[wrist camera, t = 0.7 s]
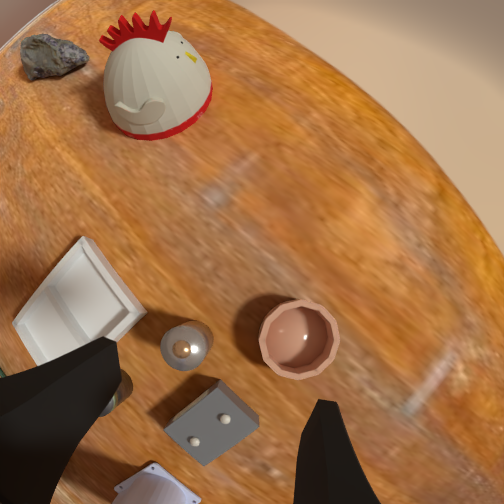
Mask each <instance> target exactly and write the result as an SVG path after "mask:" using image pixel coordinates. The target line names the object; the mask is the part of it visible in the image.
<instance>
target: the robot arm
mask: <svg viewBox="0 0 504 504" xmlns="http://www.w3.org/2000/svg"><path fill="white" fill-rule="evenodd" d="M121 381H122V376H121V371H120V364H119V358H118V351H117V344H116V341H113V340H111V339H109V338H106V337H104V336H102V337H100V338H98V339H96V340H93V341H91V342H89V343H87V344H85V345H83V346H81V347H79V348H77V349H75V350H73V351H71V352H69V353H66V354H64V355H62V356H60V357H58V358H56V359H54V360H51V361H49V362H46V363H44V364H41V365H39V366H37V367H34V368H32V369H29V370H26V371H23V372H20V373H17V374H13V375H10V376H6V377H2V378H0V504H50V502H51V499H52V496H53V493H54V491H55V489H56V486H57V484H58V481H59V479H60V477H61V475H62V473H63V471H64V469H65V467H66V465H67V463H68V461H69V459H70V457H71V456H72V454H73V452H74V450H75V448H76V447H77V445H78V444H79V442H80V441H81V439H82V438H83V437H84V435H85V434H86V433H87V431H88V430H89V429H90V427H91V426H92V425H93V424H94V422H95V421H96V420H97V418H98V417H99V416H100V414H101V413H102V412H103V410H104V409H105V408H106V406H107V405H108V404H109V402H110V401H111V399H112V397H113V396H114V394H115V392H116V390H117V389H118V387H119V385H120V383H121ZM152 467H154V468H152ZM121 486H122V487H121ZM114 490H115V491H116V492H117V493H118V495H117V497H116V498H115V499H114V501H113V502H112V504H198V503H200V502H201V498H200V497H199V496H197V495H196V494H195V493H193V492H192V491H191V490H189V489H188V488H187V487H186V486H184V485H183V484H182V483H181V482H179V481H178V480H177V479H176V478H174V477H173V476H172V475H171V474H170V473H168V472H167V471H166V470H165V469H164V468H163V467H161V466H160V465H159V464H158V463H156V462H154V463H152V464H150V465H149V466H147V467H146V468H144V469H142V470H141V471H139V472H138V473H136V474H135V475H133V476H131V477H130V478H128V479H126V480H125V481H123V482H121V483H120V484H118V485H116V486H115V487H114ZM195 501H196V502H195ZM293 504H381V503H380V502H379V500H378V498H377V497H376V495H375V493H374V491H373V489H372V488H371V486H370V484H369V482H368V480H367V478H366V476H365V474H364V472H363V470H362V468H361V465H360V463H359V461H358V459H357V456H356V454H355V451H354V449H353V446H352V444H351V441H350V439H349V436H348V433H347V430H346V428H345V425H344V422H343V419H342V416H341V413H340V410H339V406H338V404H337V402H334V401H327V400H321V399H318V401H317V403H316V405H315V407H314V409H313V412H312V414H311V416H310V418H309V420H308V422H307V424H306V426H305V428H304V430H303V432H302V434H301V440H300V445H299V450H298V456H297V465H296V478H295V490H294V502H293Z"/></svg>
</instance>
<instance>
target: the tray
mask: <svg viewBox="0 0 504 504" xmlns="http://www.w3.org/2000/svg"><path fill="white" fill-rule="evenodd" d="M147 313H148V312H147V311H146V310H145V308H144V307H143V306H142V305H141V303H140V302H139V301H138V300H137V298H136V297H135V296H134V295H133V293H132V292H131V291H130V290H129V288H128V287H127V286H126V284H125V283H124V282H123V281H122V279H121V278H120V277H119V275H118V274H117V273H116V271H115V270H114V269H113V267H112V266H111V265H110V263H109V262H108V260H107V259H106V258H105V256H104V255H103V254H102V252H101V251H100V249H99V248H98V247H97V245H96V244H95V242H94V241H93V239H90V238H87V237H85V236H82V237H81V238H80V239H79V240H78V241H77V243H76V244H75V245H74V246H73V247H72V248H71V249H70V250H69V251H68V253H67V254H66V255H65V256H64V257H63V258H62V259H61V261H60V262H59V263H58V264H57V265H56V266H55V268H54V269H53V270H52V271H51V272H50V274H49V275H48V276H47V277H46V279H45V280H44V281H43V282H42V284H41V285H40V286H39V287H38V289H37V290H36V291H35V292H34V294H33V295H32V296H31V298H30V299H29V300H28V302H27V303H26V304H25V306H24V307H23V308H22V310H21V311H20V312H19V314H18V315H17V316H16V318H15V319H14V321H13V322H12V324H13V326H14V327H15V329H16V331H17V333H18V335H19V336H20V338H21V340H22V342H23V343H24V345H25V347H26V348H27V350H28V351H29V353H30V355H31V356H32V358H33V359H34V361H35V363H36V364H37V366H39V365H41V364H44V363H46V362H49V361H51V360H54V359H56V358H58V357H60V356H62V355H64V354H66V353H69V352H71V351H73V350H75V349H77V348H79V347H81V346H83V345H85V344H87V343H89V342H91V341H93V340H96V339H98V338H100V337H102V336H104V337H106V338H109V339H111V340H113V341H116V343H117V342H118V341H119V340H120V339H121V338H122V337H123V336H124V335H125V334H126V333H127V332H128V331H129V330H130V329H131V328H132V327H133V326H134V325H135V324H136V323H137V322H138V321H139V320H140V319H141V318H142V317H144V316H145V315H146V314H147Z"/></svg>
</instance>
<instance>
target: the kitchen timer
mask: <svg viewBox="0 0 504 504" xmlns="http://www.w3.org/2000/svg"><path fill="white" fill-rule="evenodd" d="M171 20H172V17H170V18H169V19H168V21H167V22H166V23H165V24H164V25H161V24H160V23H159V20H158V17H157V15H156V12H155V11H154V10H153V12H152V14H151V16H150V22H149V26H146V25H145V24H144V23H143V21H142V20H141V18H140V17H139V16H138V14H137V13H136V12H135V13H134V15H133V17H132V22H133V27H134V28H133V27H132V26H131V25H130V24H129V23H128V21H127V20H126V19H125V18H124V16H122V15H121V16H120V18H119V20H118V24H119V28H120V30H118V29H117V28H115V27H114V26H112V25H110V27H109V29H108V30H107V32H108V34H109V35H110V36H111V37H112V38H113V39H114V40H111V39H109V38H107V37H105V36H103V35H102V36H101V38H100V40H99V41H100V43H101V44H103V45H104V46H105V47H107V48H108V49H110V50H111V51H112V52H111V54H110V56H109V58H108V61H107V63H106V66H105V70H104V95H105V101H106V105H107V108H108V111H109V113H110V115H111V118H112V120H113V122H114V123H115V124H116V126H117V127H118V128H119V129H120V130H121V131H122V132H123V133H124V134H125V135H127V136H130V137H132V138H135V139H137V140H149V141H152V140H158V139H164V138H168V137H170V136H173V135H175V134H178V133H180V132H182V131H184V130H185V129H187V128H188V127H189V126H191V125H192V124H194V123H195V122H196V121H197V120H198V119H199V118H200V117H201V116H202V115H203V113H204V112H205V111H206V109H207V107H208V105H209V103H210V101H211V97H212V90H213V88H212V82H211V78H210V74H209V70H208V68H207V66H206V64H205V62H204V61H203V59H202V58H201V57H200V55H199V54H198V53H197V52H196V50H195V49H194V48H193V47H192V46H191V44H190V43H189V42H188V41H187V40H185V39H184V38H182V35H181V34H179V33H177V32H174V31H168V30H169V27H170V24H171Z"/></svg>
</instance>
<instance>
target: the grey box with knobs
mask: <svg viewBox="0 0 504 504" xmlns="http://www.w3.org/2000/svg"><path fill="white" fill-rule="evenodd" d="M258 427H259V416H258V415H257V414H256V413H255V412H254V411H253V410H252V409H251V408H250V407H249V406H248V405H247V404H245V403H244V402H243V401H242V400H241V399H240V398H239V397H238V396H237V395H236V394H235V393H234V392H233V391H232V390H231V389H230V388H229V387H228V386H227V385H226V384H225V383H224V382H223V381H222V380H221V379H220V380H218V381H217V382H216V383H215V384H214V385H212V386H211V387H210V388H209V389H208V390H206V391H205V392H204V393H203V394H202V395H200V396H199V397H198V398H197V399H195V400H194V401H193V402H192V403H190V404H189V405H188V406H187V407H185V408H184V409H183V410H182V411H180V412H179V413H178V414H177V415H175V416H174V417H173V418H171V419H170V420H169V422H168V423H167V425H166V427H165V428H164V431H165V432H166V433H167V434H168V435H169V436H170V437H171V438H172V439H173V440H174V441H175V442H176V443H178V444H179V445H180V446H181V447H182V448H183V449H184V450H185V451H186V452H188V453H189V454H190V455H191V456H192V457H193V458H195V459H196V460H197V461H198V462H199V463H200V464H202V465H203V466H205V465H207V464H208V463H210V462H211V461H213V460H214V459H216V458H217V457H219V456H220V455H222V454H223V453H224V452H226V451H227V450H229V449H230V448H231V447H233V446H234V445H236V444H237V443H238V442H240V441H241V440H242V439H244V438H245V437H247V436H248V435H249V434H251V433H252V432H253V431H254V430H256V429H257V428H258Z"/></svg>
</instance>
